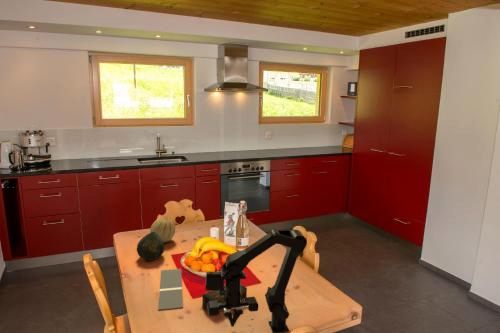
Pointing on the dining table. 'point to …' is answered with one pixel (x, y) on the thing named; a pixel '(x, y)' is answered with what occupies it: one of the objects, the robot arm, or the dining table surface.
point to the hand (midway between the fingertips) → (232, 326)
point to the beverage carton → (220, 297)
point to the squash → (150, 246)
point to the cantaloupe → (163, 229)
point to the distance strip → (170, 290)
